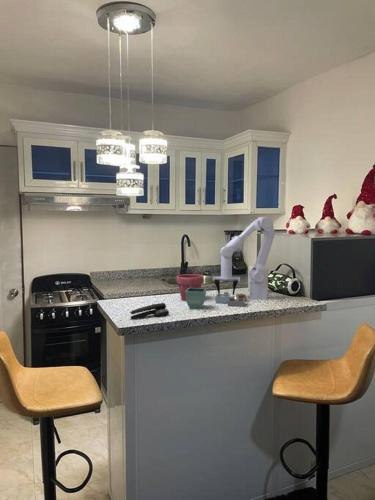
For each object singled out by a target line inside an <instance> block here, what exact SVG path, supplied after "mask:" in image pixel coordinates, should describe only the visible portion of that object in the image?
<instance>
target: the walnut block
mask: <svg viewBox="0 0 375 500" xmlns="http://www.w3.org/2000/svg"><path fill="white" fill-rule="evenodd" d="M235 296H238V298H245V303H246V302H247V294H245V293H236V294H235Z"/></svg>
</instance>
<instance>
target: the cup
mask: <svg viewBox="0 0 375 500" xmlns="http://www.w3.org/2000/svg"><path fill="white" fill-rule="evenodd" d="M224 296H225V297H224ZM230 297H231V294H230V293H228V294H224V293H220V294H218V293H216V295H215V304H222V305H223V304H226V305H228V299H230Z"/></svg>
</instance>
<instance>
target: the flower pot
mask: <svg viewBox="0 0 375 500" xmlns="http://www.w3.org/2000/svg"><path fill="white" fill-rule="evenodd" d="M185 292H186V300H187V301H186V303H187V306H188V308H189V309H191V310H193V309H202V307H203V305H204V303H205V301H206V296H207V288H202V287H201V288H188V289H187V290H186V291H185Z"/></svg>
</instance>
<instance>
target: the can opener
mask: <svg viewBox="0 0 375 500" xmlns="http://www.w3.org/2000/svg"><path fill="white" fill-rule="evenodd" d="M130 314H131V316H130V319H131V320H137V319H141V318H145V317H147V316H151V315H154V316H155V317H157V318H162V317H165V316H167V315H169V314H170V312H169V310H168V309H167V305H166V303H164V302H161V303H160V302H159V303H152V304H150V305H145V306H141V307H139V308H136V309H132V310H131V311H130ZM136 318H137V319H136Z"/></svg>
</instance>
